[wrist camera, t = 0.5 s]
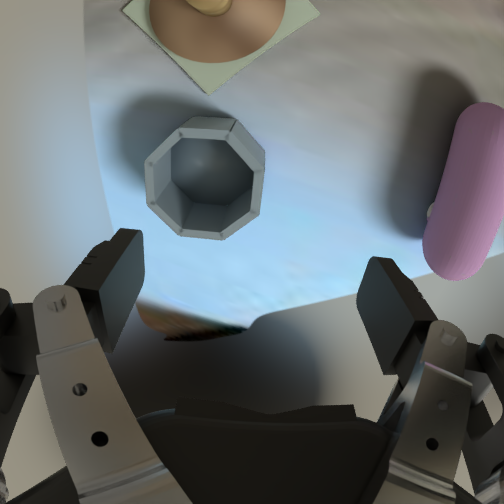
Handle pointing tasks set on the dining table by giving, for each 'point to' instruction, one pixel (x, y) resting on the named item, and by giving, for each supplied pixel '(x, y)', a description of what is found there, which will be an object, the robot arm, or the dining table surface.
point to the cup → (206, 178)
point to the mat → (219, 73)
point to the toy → (468, 195)
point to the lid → (215, 27)
